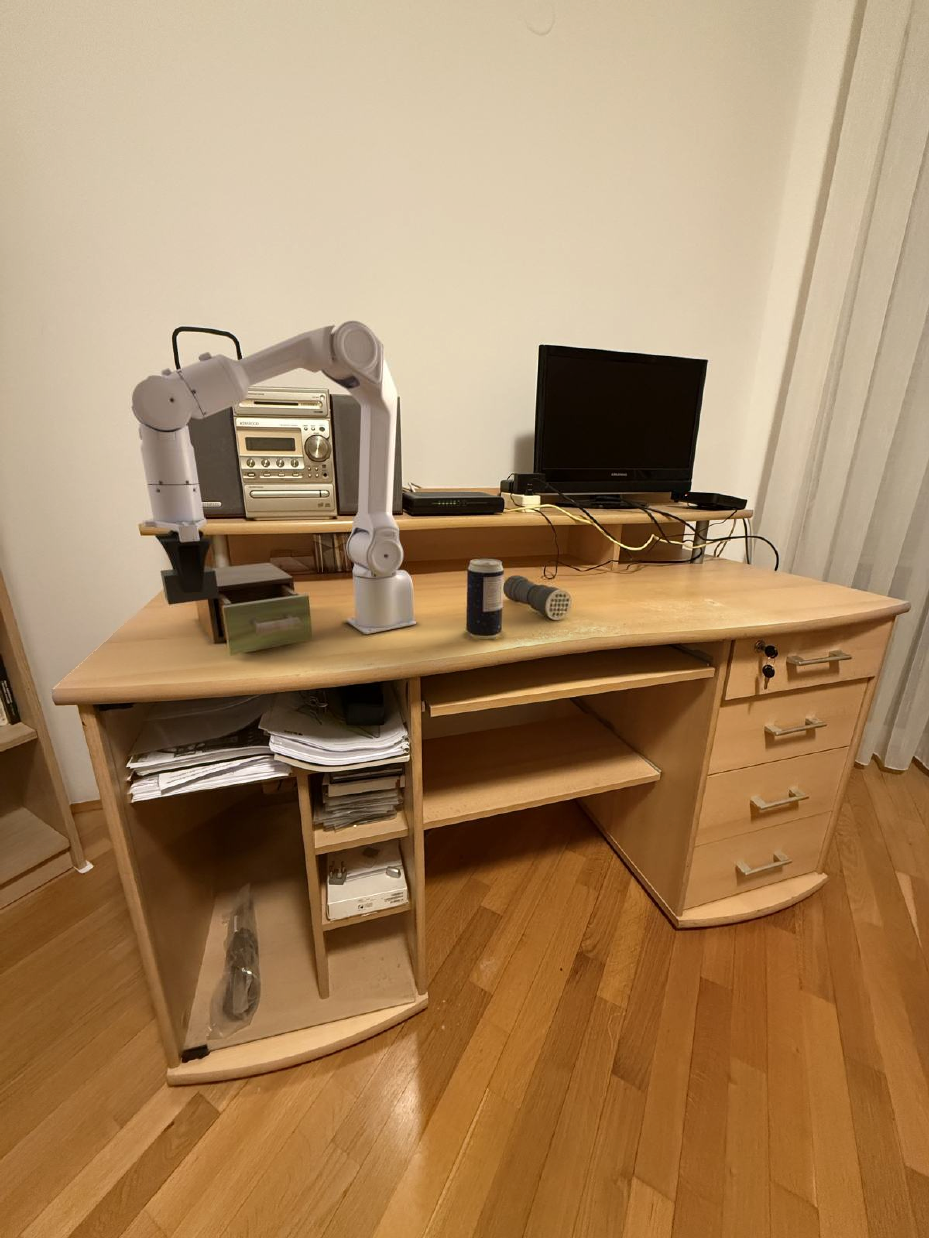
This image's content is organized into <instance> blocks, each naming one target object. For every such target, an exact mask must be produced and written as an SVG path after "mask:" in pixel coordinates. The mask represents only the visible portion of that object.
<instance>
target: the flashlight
mask: <svg viewBox="0 0 929 1238" xmlns="http://www.w3.org/2000/svg"><path fill="white" fill-rule="evenodd" d="M503 595H504V596H505V597H506V598H507V599H508V600H510V601H511V602H514V603H517V604H518V603H521V604H524V605H528V606H530V608H531V609H532V610H534V611H536V612H539V613H540V614H541V615H542V616H544V617H546V618H549V619H552V620H554V621H560V620H562V619H564V618H565V617H567V615H569V613H570V611H571V608H572V602H573V601H572V597H571V594H570V593H569V592H568V591H566V590H564V589H561V588H558V587H556V586H548V585H546V584H537V583H534V582H533V581H531V580H529V579H528V578H527V577H525V576H521V575H519V574H515V575H511V576H509V577H508V578H507V579H506V580H504V583H503Z"/></svg>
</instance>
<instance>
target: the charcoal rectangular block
mask: <svg viewBox="0 0 929 1238" xmlns="http://www.w3.org/2000/svg"><path fill="white" fill-rule="evenodd" d="M212 568H213V567H211V565H205V568H204V584H203V590H202V591H198V592H190V593H185V592H184V590H183V588H182V586H181V583H180V581H179V578H178V575H177V572H176V569H173V568H172V569H164V570H160V576H161V582H162V586H163V591H164V592H163V593H164V597H165V600H166V601H167V604H168V605H169V606H171V605H178V604H185V603H192V602H196V601H201V600H208V599H215V598H219V593H218V587H217V580H216V573H215V570H213V569H212Z"/></svg>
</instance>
